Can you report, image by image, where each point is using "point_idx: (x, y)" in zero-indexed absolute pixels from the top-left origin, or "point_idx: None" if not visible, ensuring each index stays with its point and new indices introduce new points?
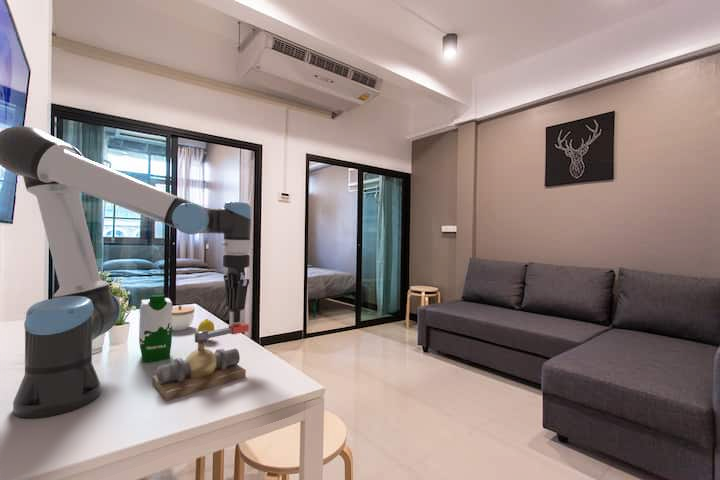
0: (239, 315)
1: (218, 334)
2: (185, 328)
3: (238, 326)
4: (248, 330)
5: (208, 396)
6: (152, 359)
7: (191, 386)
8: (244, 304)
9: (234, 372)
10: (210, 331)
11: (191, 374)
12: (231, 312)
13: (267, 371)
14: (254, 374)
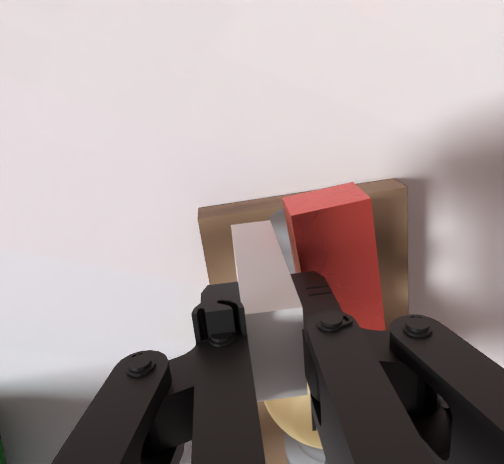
0: (338, 306)
1: None
2: None
3: (377, 289)
4: (355, 185)
5: (456, 332)
6: (2, 458)
7: None
8: (481, 361)
9: (400, 237)
10: None
11: None
12: (298, 388)
13: (402, 63)
14: (393, 133)
